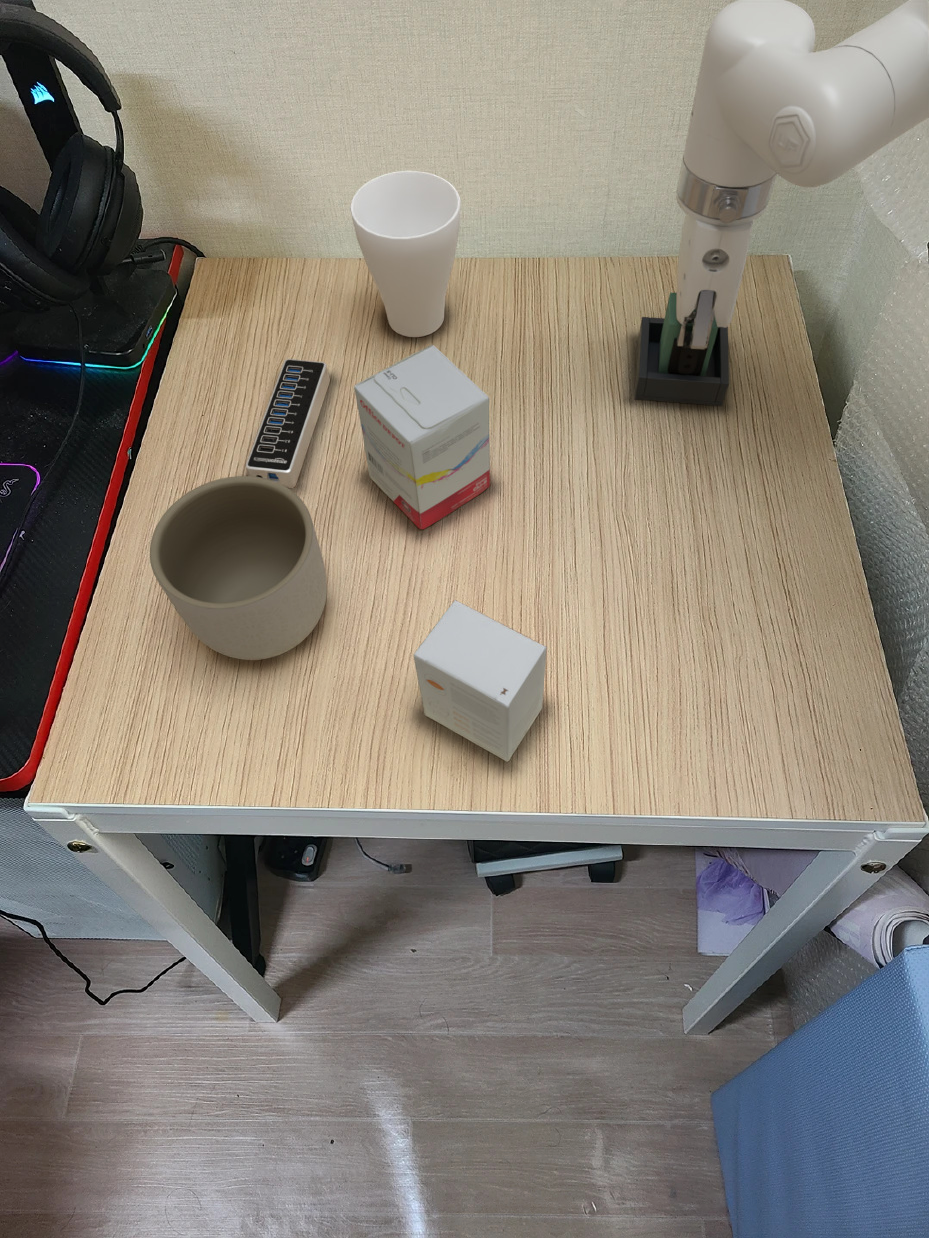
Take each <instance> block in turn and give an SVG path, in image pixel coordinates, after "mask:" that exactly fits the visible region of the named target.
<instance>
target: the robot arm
mask: <svg viewBox="0 0 929 1238" xmlns="http://www.w3.org/2000/svg"><path fill="white" fill-rule="evenodd" d="M815 43H816V29H815V24H814V21H813V19H812V18H811V16H810V15H809V14H808V13H807V12H806V11H805V10H804V9H803V8H802V7H800V6H799V5H797V4H796V3H793V2H791V1H788V0H735V1H733V2H731V3H729V4H727V5H726V6H724V7H723V8H721V9H720V11H719V12H718V13H717V14H716V15H715V16H714V18H713V19H712V21H711V23H710V25H709V27H708V30H707V34H706V37H705V41H704V47H703V52H702V57H701V62H700V67H699V71H698V78H697V82H696V88H695V93H694V99H693V104H692V108H691V114H690V119H689V123H688V124H689V125H688V130H687V135H686V140H685V144H684V150H683V156H682V160H681V165H680V170H679V177H678V182H677V187H676V190H675V199H676V203H677V204H678V206H679V208H680V209H681V210H682V212H684V213H685V215H684V218H683V225H682V230H681V235H680V241H679V248H678V256H677V265H676V267H677V268H676V293H677V302H676V316H677V320H678V321H679V323H680V328H679V333H678V338H674V342H673V346H672V351H671V355H670V359H669V364H668V373H669V374H679V375H692V376H699V375H700V374H701V371H702V368H703V364H704V360H705V357H706V353H707V349H708V345H709V337H710V333H711V328H712V324H713V320H714V316H715V320H716V324H717V327H723V328H726V327H727V326H728V327H729V326H730V325H731V324H732V320H733V316H734V312H735V309H736V308H735V307H736V304H737V300H738V296H739V291H740V287H741V283H742V279H743V276H744V270H745V266H746V262H747V257H748V252H749V247H750V242H751V236H752V230H753V223H754V221H756V220H758V219H759V218H760V217H761V216H762V215H763V214H765V212H766V210H767V209H768V207H769V203H770V199H771V197H772V196H771V195H772V193H773V190H774V189H773V188H774V185H775V182H776V178H777V175H778V176H779V177H781V178H782V179H783V180H785V181H787V182H788V183H791V184H792V185H794V186H798V187H802V188H816V187H821V186H824V185H827V184H829V183H831V182H833V181H835V180H837V179H839V178H840V177H842V176H843V175H845V174H846V173H848V172H849V171H851V170H852V169H854V168H855V167H857V166H858V165H859V164H861V163H862V162H864V161H865V160H867V159H868V158H870V157H871V156H872V155H874V154H875V153H876V152H878V151H880V150H881V149H882V148H884V147H885V146H887V145H888V144H890V143H891V142H893V141H895V139H897V138H899V137H901V136H902V135H904V134H905V133H907V132H908V131H910V130H911V129H913V128H915V127H916V126H918V125H919V124H921V123H922V122H924V121H926V120H927V119H929V0H907V1H905V2H904V3H902V4H901V5H898V7H896V8H895V9H894V10H892V11H890V12H889V13H887V14H886V15H884V16H883V17H881V18H879V19H878V20H877V21H874V22H872V24H870V25H868V26H867V27H864V28H863V29H860V30H859V31H857V32H855V33H854V34H852V35H850V36H849V37H847V38H846V39H845V38H844V40H842V41H840V42H839V43H837V44H836V45H834V46H832V47H830V48H828V49H823V50H817V51H814V47H815ZM693 310H696V312H693ZM688 323H694V325H693V331H692V332H687V333H686V329H687V324H688Z"/></svg>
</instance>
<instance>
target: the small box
mask: <svg viewBox="0 0 929 1238" xmlns="http://www.w3.org/2000/svg"><path fill="white" fill-rule="evenodd" d="M412 656H413V660H414V664H415V665H414V667H415V670H416V671H415V672H416V676H417V677H416V678H417V682H418V688H419V692H420V698H421V703H422V708H423V713H424V715H425V717H427V718H429V719H431V720H433V721H435V722H436V723H438V724H440V725H442V726H443V727H445V728H447V729H448V730H449V731H452V732H454V733H456V734H457V735H459V736H461V737H462V738H464V739H466V740H467V741H469V742H471V743H473V744H475V745H477V746H478V747H480V748H482V749H484V750H486V751H488V752H489V753H491V754H492V755H494V756H496V757H498V758H500V759H501V760H503V761H505V762H506V763H507V762H509V761H510V759H511V758H512V756H513V755H514V753H515V752H516V750H517V749H518V747H519V746H520V744H521V743H522V741H523V739H524V738H525V736H526V734H527V733H528V732H529V730H530V728H531V727H532V726H533V724H534V722H535V721H536V719H537V717H538V716H539V714H540V712H541V711H542V709H543V704H544V703H543V702H544V688H545V677H546V675H545V674H546V663H547V646H546V645H545V644H542V643H540V642H538V641H536V640H534V638H533V639H532V638H530V637H528V636H527V635H525V634H523V633H521V632H519V631H517V630H515V629H513V628H512V627H509V626H507V625H505V624H503V623H501V622H499V621H497V620H495V619H494V618H492V617H490V616H488V615H486V614H484V613H482V612H480V611H478V610H476V609H474V608H472V607H471V606H468V605H466V604H464V603H462V602H461V601H459V600H458V599H454V600H453V601H452V603H451V604H450V605H449V607H448V608H447V609H446V611H445V612H444V613H443V614H442V616H441V617H440V619H439V620H438V621H437V623H436V624H435V626H433V628H432V629H431V630H430V632H429V633H428V635H426V636H425V638H424V640H423V641H422V642H421V644H420V645H419V646H418V648H417V649H416V651H414V653H413V655H412Z"/></svg>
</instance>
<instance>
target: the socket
mask: <svg viewBox="0 0 929 1238" xmlns="http://www.w3.org/2000/svg"><path fill="white" fill-rule="evenodd" d="M664 319H665V317H649V316H641V321H640V325H639V332H638V336H637V348H636V350H637V351H636V364H635V365H636V366H635V386H634V400H639V401H640V400H642V401H651V402H653V401H654V402H667V403H680V404H690V405H691V404H692V405H705V406H715V407H716V406H717V407H722V406H723V405H724V402H725V398H726V394H727V392H728V389H729V385H730V366H729V364H730V362H729V361H730V359H729V358H730V357H729V326H727V327H726V328H723V327H718V330H717V334H716V337H715V341H714V345H713V348H712V352H711V355H710V359H709V363H708V366H707V370H706V373H705V376H692V375H679V374H669V373H659V350H660V338H661V333H662V328H663V324H664Z"/></svg>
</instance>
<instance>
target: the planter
mask: <svg viewBox="0 0 929 1238" xmlns="http://www.w3.org/2000/svg"><path fill="white" fill-rule="evenodd" d="M149 562H150V566H151V570H152V573H153V575H154V577H155V579H156V581H157V582H158V584H159V586H160V587H161V589H162V591H163V592H164V594H165V595H166V596H167V598H168V599H169V601H170V602H171V604H172V606H173V607H174V609H175V611H176V612H177V614H178V615H179V617H180V618H181V620H182V621H183V623H184V624H185V625H186V626H187V628H188V629H189V630H190V632H191V633H192V634H193V635H194V636H195V637H196V638H197V639H198V640H199V641H200V642H202V644H204V645H205V646H206V647H208V648H209V649H211V650H213V651H214V652H217V653H219V654H221V655H223V656H226V657H229V658H233V659H236V660H243V661H257V660H258V661H259V660H267V659H271V658H275V657H278V656H280V655H282V654H284V653H287V652H289V651H290V650H292V649H294V648H295V647H297V646H298V645H300V644H301V643H302V642H303V641H304V640H305V639H306V638H307V637H308V636H309V635H310V634H311V633H312V632H313V630H314V629H315V628H316V626H317V624H318V623H319V621H320V619H321V617H322V614H323V612H324V609H325V605H326V601H327V595H328V581H327V571H326V567H325V562H324V558H323V554H322V550H321V547H320V543H319V540H318V536H317V532H316V529H315V525H314V521H313V518H312V515H311V513H310V510H309V509H308V507H307V505H306V504H305V502H304V501H303V500H302V498H300V497H299V495H298V494H297V493H295V492H294V491H293V490H292V489H291V488H287V487H286V486H284V485H282V484H280V483H278V482H275V481H272V480H269V479H265V478H261V477H254V476H249V475H237V476H235V475H234V476H228V477H222V478H217V479H215V480H211V481H209V482H206V483H203V484H201V485H199V486H197V487H195V488H193V489H191V490H190V491H188V492H186V493H184V494H183V495H181V497H179V498H178V499H177V500H176V501H175V502H173V503H172V505H170V507H168V509H166V511H165V512H164V514H162V515H161V518H160V519H159V520H158V522H157V524H156V526H155V529H154V531H153V533H152V535H151V540H150V545H149Z"/></svg>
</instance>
